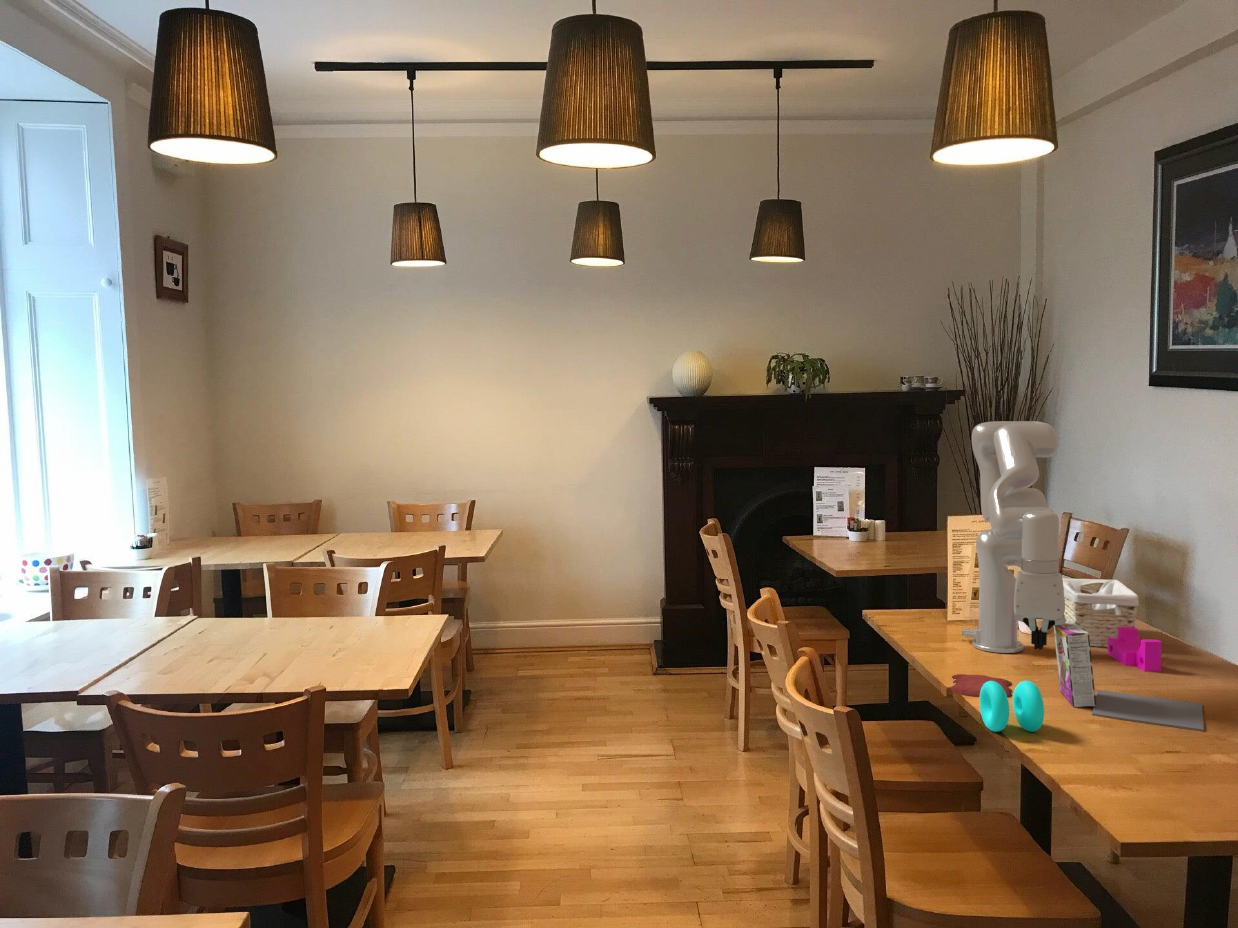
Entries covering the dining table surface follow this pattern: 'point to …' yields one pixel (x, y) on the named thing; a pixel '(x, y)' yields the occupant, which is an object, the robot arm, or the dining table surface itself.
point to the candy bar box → (1075, 664)
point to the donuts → (1024, 706)
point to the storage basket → (1100, 607)
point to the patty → (976, 684)
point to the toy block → (1135, 650)
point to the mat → (1149, 710)
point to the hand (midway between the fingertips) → (1038, 647)
